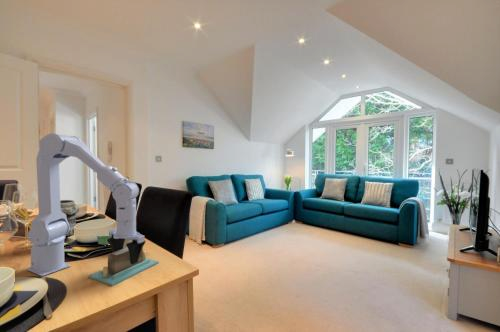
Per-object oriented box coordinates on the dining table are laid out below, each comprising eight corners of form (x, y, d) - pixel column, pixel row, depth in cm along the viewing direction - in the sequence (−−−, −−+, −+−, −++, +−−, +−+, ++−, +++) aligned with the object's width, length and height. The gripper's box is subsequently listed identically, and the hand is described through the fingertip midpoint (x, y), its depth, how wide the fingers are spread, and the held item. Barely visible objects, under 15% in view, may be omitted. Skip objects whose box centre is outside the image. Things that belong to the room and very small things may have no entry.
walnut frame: (107, 273, 75) (107, 253, 74) (135, 261, 84) (135, 243, 83) (115, 275, 73) (115, 256, 73) (142, 263, 82) (142, 245, 82)
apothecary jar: (83, 243, 101) (82, 201, 100) (46, 251, 92) (45, 205, 91) (75, 237, 109) (74, 197, 108) (40, 244, 100) (39, 201, 99)
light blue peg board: (89, 277, 73) (89, 265, 73) (136, 257, 89) (136, 247, 88) (112, 286, 68) (112, 273, 68) (158, 263, 84) (158, 253, 84)
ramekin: (126, 240, 106) (126, 230, 106) (109, 248, 97) (109, 237, 97) (108, 238, 108) (108, 229, 108) (91, 245, 99) (91, 235, 99)
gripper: (100, 219, 78) (100, 260, 78) (130, 225, 71) (130, 270, 72) (120, 215, 84) (120, 253, 84) (149, 220, 78) (149, 261, 78)
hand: (126, 260), depth 78 cm, fingers open, 7 cm apart
